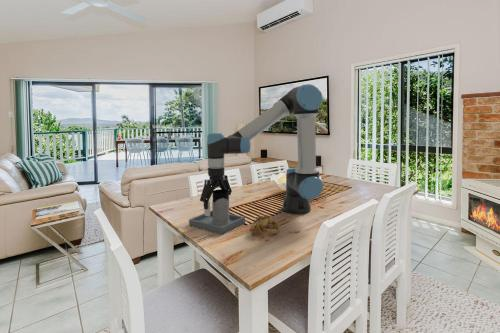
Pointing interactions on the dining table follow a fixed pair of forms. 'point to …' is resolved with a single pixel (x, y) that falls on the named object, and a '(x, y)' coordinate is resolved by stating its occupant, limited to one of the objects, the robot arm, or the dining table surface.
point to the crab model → (263, 223)
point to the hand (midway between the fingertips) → (217, 211)
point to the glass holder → (220, 207)
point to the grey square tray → (206, 224)
